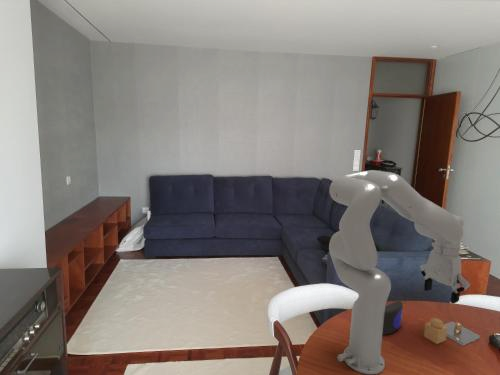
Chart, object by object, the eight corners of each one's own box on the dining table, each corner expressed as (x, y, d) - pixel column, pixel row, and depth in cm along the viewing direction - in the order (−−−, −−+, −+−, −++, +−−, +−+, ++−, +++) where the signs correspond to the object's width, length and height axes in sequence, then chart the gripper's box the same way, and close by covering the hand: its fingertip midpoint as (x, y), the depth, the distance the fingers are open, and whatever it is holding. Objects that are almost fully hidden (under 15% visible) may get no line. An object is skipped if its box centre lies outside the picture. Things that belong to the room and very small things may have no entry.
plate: (462, 345, 113) (464, 334, 113) (435, 330, 122) (437, 319, 122) (479, 338, 118) (481, 327, 117) (451, 324, 127) (453, 313, 126)
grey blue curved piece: (381, 340, 116) (384, 315, 114) (370, 333, 119) (372, 309, 118) (407, 326, 125) (410, 303, 123) (396, 320, 128) (398, 298, 127)
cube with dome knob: (436, 344, 114) (439, 326, 113) (423, 336, 119) (426, 319, 117) (445, 340, 116) (448, 323, 115) (432, 332, 121) (434, 315, 120)
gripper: (416, 243, 118) (411, 287, 121) (465, 260, 103) (458, 310, 106) (430, 241, 122) (424, 283, 124) (479, 257, 106) (472, 305, 109)
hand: (440, 296), depth 115 cm, fingers open, 9 cm apart
